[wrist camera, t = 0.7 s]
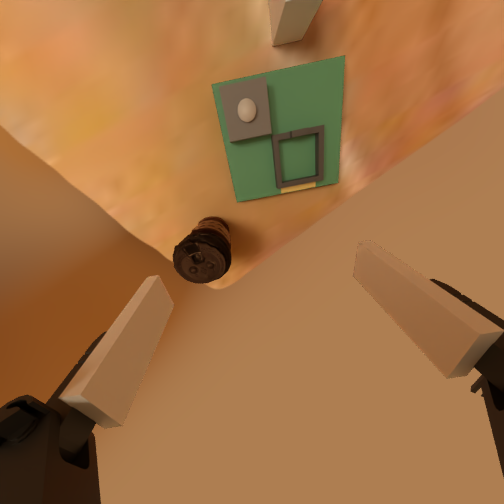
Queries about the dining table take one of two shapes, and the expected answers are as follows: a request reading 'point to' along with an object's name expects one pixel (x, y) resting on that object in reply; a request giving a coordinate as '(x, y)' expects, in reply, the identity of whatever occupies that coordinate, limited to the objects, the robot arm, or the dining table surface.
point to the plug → (291, 19)
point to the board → (282, 128)
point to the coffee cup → (204, 252)
